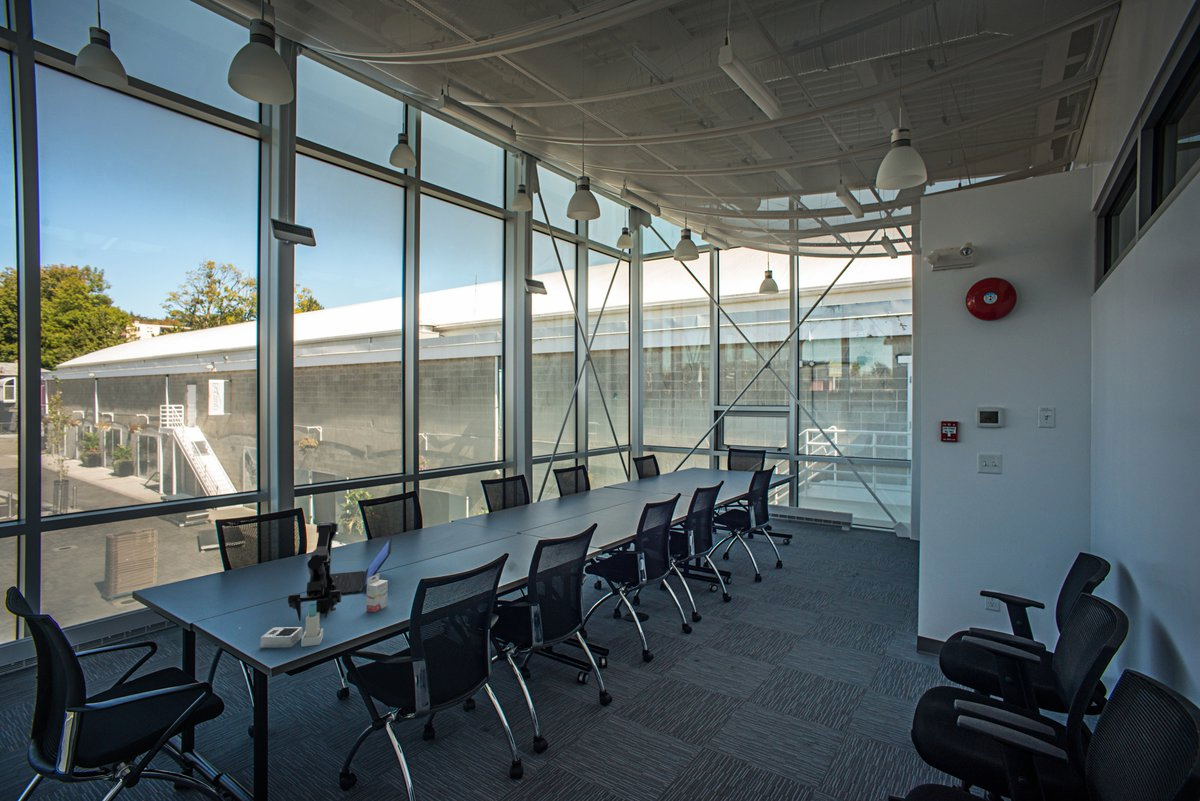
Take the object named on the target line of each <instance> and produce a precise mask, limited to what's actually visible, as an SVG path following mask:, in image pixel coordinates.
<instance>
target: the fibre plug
mask: <svg viewBox="0 0 1200 801" xmlns="http://www.w3.org/2000/svg"><path fill="white" fill-rule="evenodd" d="M319 629H320V613H319V612H316V603H311V604H309V605H308V614H307V615H306V617H305V630H306V638H307V637H316V636H319Z"/></svg>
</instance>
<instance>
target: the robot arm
mask: <svg viewBox="0 0 1200 801" xmlns="http://www.w3.org/2000/svg"><path fill="white" fill-rule="evenodd" d="M338 531H339V524H338V523H336V521H322V522H321V521H320V523H319V524H316V534H318V536H317V542H316V548H315V549H314V550H313V551H311V556H310V557H309V558H308V560H307V570H308V574H309V581H308V582H307V583H306V596H301V593H293V594H289V595H288V597H287V604H288V607H289V608H292V609H293V610H295V611H296V613H297V617H298V621H299V622H300V621H302V620H301V619H302V603H306V602H315V604H316V612H319V614H325V615H324V617H325V619H327V618H328V616H329V614H330V612H332V611H334V610H336V607H335V606H337V605H338V604H339V603H341V602H342V595H341V591H340V590H337V588H336V586H335V583H334V580H333V578H332V576H331V575H330V574H331V569H332V568H331V566H332V553H333V552H332V548H333V541H334V540H335V538H336V537H337V532H338ZM307 595H308V596H307Z"/></svg>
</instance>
